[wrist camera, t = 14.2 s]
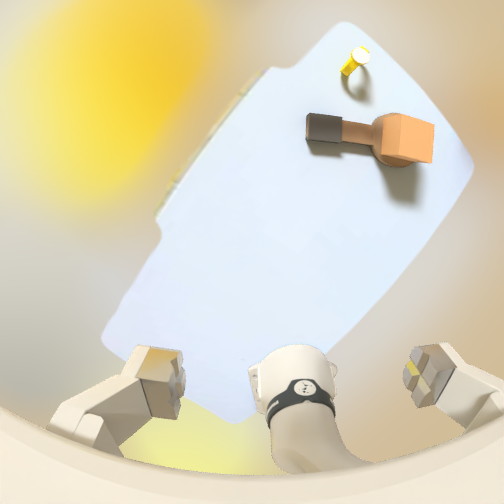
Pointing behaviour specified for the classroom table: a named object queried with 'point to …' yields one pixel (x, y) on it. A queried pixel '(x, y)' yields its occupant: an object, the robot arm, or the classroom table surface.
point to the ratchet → (351, 134)
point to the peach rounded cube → (407, 138)
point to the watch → (355, 60)
